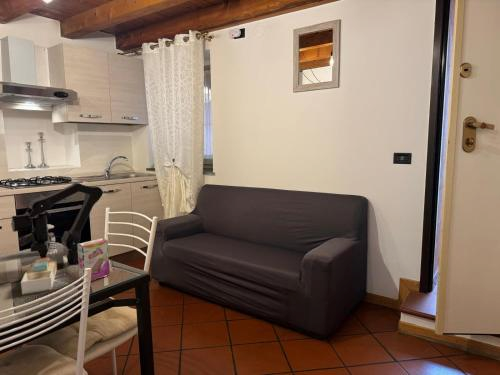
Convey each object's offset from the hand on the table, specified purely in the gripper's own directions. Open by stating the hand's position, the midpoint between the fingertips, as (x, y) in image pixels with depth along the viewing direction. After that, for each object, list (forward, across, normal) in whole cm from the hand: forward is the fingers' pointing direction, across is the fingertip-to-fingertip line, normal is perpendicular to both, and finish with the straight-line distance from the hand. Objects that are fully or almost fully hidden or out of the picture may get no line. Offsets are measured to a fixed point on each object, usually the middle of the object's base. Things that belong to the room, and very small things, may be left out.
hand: (43, 260), depth 157 cm
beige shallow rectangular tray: (+5, +6, 0) cm, 8 cm away
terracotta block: (+1, +4, 0) cm, 4 cm away
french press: (+5, -29, -2) cm, 29 cm away
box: (+5, +20, 0) cm, 20 cm away
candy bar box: (+5, +21, +21) cm, 30 cm away
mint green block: (+1, +10, 0) cm, 10 cm away
